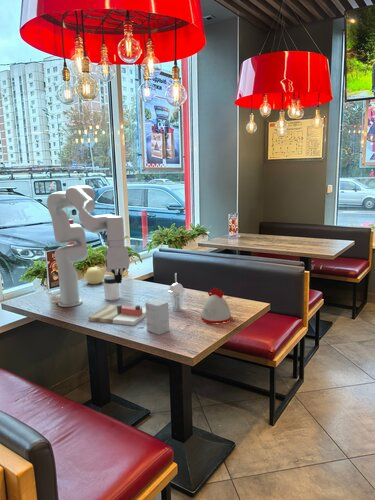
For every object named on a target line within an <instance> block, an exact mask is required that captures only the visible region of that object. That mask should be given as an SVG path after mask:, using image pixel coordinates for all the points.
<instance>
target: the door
mask: <svg viewBox="0 0 375 500" xmlns="http://www.w3.org/2000/svg"><path fill="white" fill-rule="evenodd" d="M135 306H136V305H133V307H135ZM139 306H140V308H142V315H140V316H135V315H128V314H119V315H118V316H117V317H115V318H114V319H113V323H112V324H118V325H128V326H135V325H137V324H138V323H139V322H140V321H141V320H142V319H144V318H145V317H146V307H143V306H141V305H139Z"/></svg>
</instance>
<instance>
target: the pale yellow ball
mask: <svg viewBox="0 0 375 500" xmlns="http://www.w3.org/2000/svg"><path fill="white" fill-rule="evenodd" d="M105 276H106V275H105V268H103V267H99V266H97V265H95V266H92V267H91V266H90V267H89V268H87V271H86V272H85V280H86V282H87V283H88V284H89V285H96V284H100V283H103V282H104V277H105Z"/></svg>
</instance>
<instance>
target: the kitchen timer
mask: <svg viewBox="0 0 375 500" xmlns="http://www.w3.org/2000/svg"><path fill="white" fill-rule="evenodd" d="M207 294H208V296H209V297H207V299H206V300H205V301H204V304H203V306H202V309H201V314H200V317H201V319H202V320H203V321H204V322H203V321H202V320H201V321H202V322H203V323H205V322H207V323H206V324H208V323H223V322H227V321H229V320H230V319H231V320H232V314H231V310H230V306H229V304H228V302H227V300H225V298H224V297H223V296H224V294H225V291H223V292H222V289H221V288H220V289H219V288H216V287H213V289H212V288H211V289H210V291H207ZM231 320H230V321H231ZM230 321H229V322H230ZM227 323H228V322H227Z"/></svg>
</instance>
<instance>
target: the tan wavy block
mask: <svg viewBox="0 0 375 500" xmlns="http://www.w3.org/2000/svg"><path fill="white" fill-rule="evenodd" d="M124 306H125V305H122V304H118V305H114V304H113V305H112V304H106V306H104V307H103V308H101V309H99V310H97V311H96V312H94V313H92V314H91V315H90V316H88V321H89V322H99V323H108V324H114V323H113V319H114V318H115V317H117V316H118V315H119V314H121V308H122V307H124Z"/></svg>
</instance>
